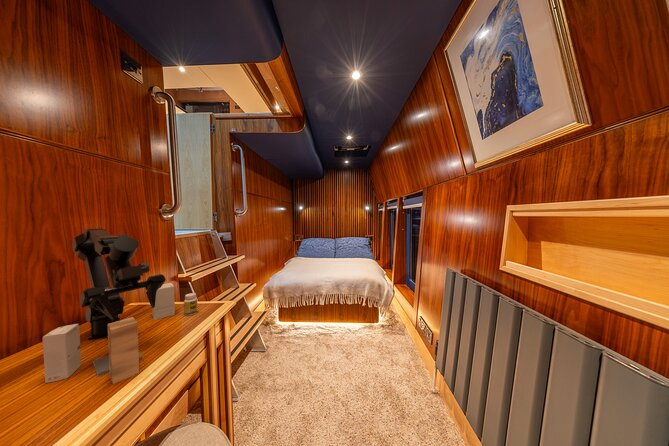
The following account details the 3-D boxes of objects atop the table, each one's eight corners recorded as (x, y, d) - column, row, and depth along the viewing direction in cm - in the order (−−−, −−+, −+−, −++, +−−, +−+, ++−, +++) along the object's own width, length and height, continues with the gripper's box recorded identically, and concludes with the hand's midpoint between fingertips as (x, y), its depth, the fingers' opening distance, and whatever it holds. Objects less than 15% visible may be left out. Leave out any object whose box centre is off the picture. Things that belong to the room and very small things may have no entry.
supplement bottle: (190, 316, 92) (190, 296, 92) (181, 315, 93) (181, 296, 93) (200, 311, 97) (199, 293, 97) (191, 310, 98) (190, 292, 98)
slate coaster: (93, 363, 63) (93, 360, 63) (134, 348, 70) (134, 345, 70) (97, 376, 58) (97, 373, 58) (142, 358, 65) (141, 356, 65)
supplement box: (173, 309, 99) (172, 282, 99) (175, 315, 94) (174, 286, 93) (151, 314, 94) (151, 285, 94) (152, 320, 89) (152, 290, 88)
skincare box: (68, 378, 57) (66, 333, 57) (43, 384, 55) (40, 337, 55) (82, 364, 63) (80, 322, 62) (60, 369, 61) (58, 326, 60)
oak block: (109, 375, 58) (107, 324, 58) (134, 365, 62) (132, 317, 62) (113, 384, 55) (110, 329, 55) (139, 373, 59) (137, 322, 59)
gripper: (82, 260, 59) (96, 312, 54) (163, 250, 75) (180, 290, 70) (74, 282, 63) (86, 332, 58) (152, 268, 79) (167, 306, 75)
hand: (135, 313), depth 65 cm, fingers open, 9 cm apart
